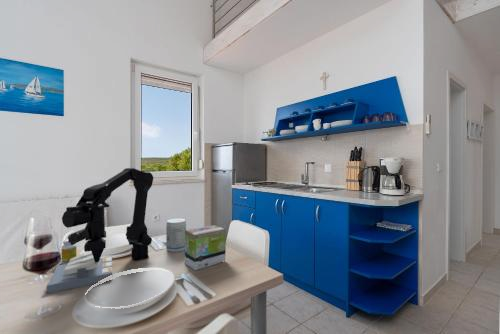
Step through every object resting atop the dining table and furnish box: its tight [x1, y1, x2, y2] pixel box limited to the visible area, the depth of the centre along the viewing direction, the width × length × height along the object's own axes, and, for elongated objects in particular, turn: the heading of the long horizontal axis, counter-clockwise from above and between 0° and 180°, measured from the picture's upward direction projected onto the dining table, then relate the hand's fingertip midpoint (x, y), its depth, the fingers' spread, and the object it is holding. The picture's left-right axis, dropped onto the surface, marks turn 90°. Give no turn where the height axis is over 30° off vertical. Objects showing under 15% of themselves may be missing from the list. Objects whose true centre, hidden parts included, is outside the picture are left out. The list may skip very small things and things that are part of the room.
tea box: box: [184, 224, 227, 271], centre depth 107 cm, size 15×10×15 cm, turn 131°
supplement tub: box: [165, 217, 187, 253], centre depth 124 cm, size 10×10×15 cm
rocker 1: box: [70, 251, 93, 262], centre depth 100 cm, size 10×4×2 cm, turn 120°
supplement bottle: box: [60, 238, 78, 265], centre depth 109 cm, size 5×5×10 cm
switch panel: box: [46, 256, 113, 294], centre depth 95 cm, size 19×19×6 cm
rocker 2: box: [67, 255, 94, 266], centre depth 95 cm, size 10×4×2 cm, turn 120°
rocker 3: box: [64, 261, 99, 275], centre depth 90 cm, size 10×4×2 cm, turn 120°
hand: (96, 262), depth 92 cm, fingers closed, pressing on rocker 3
